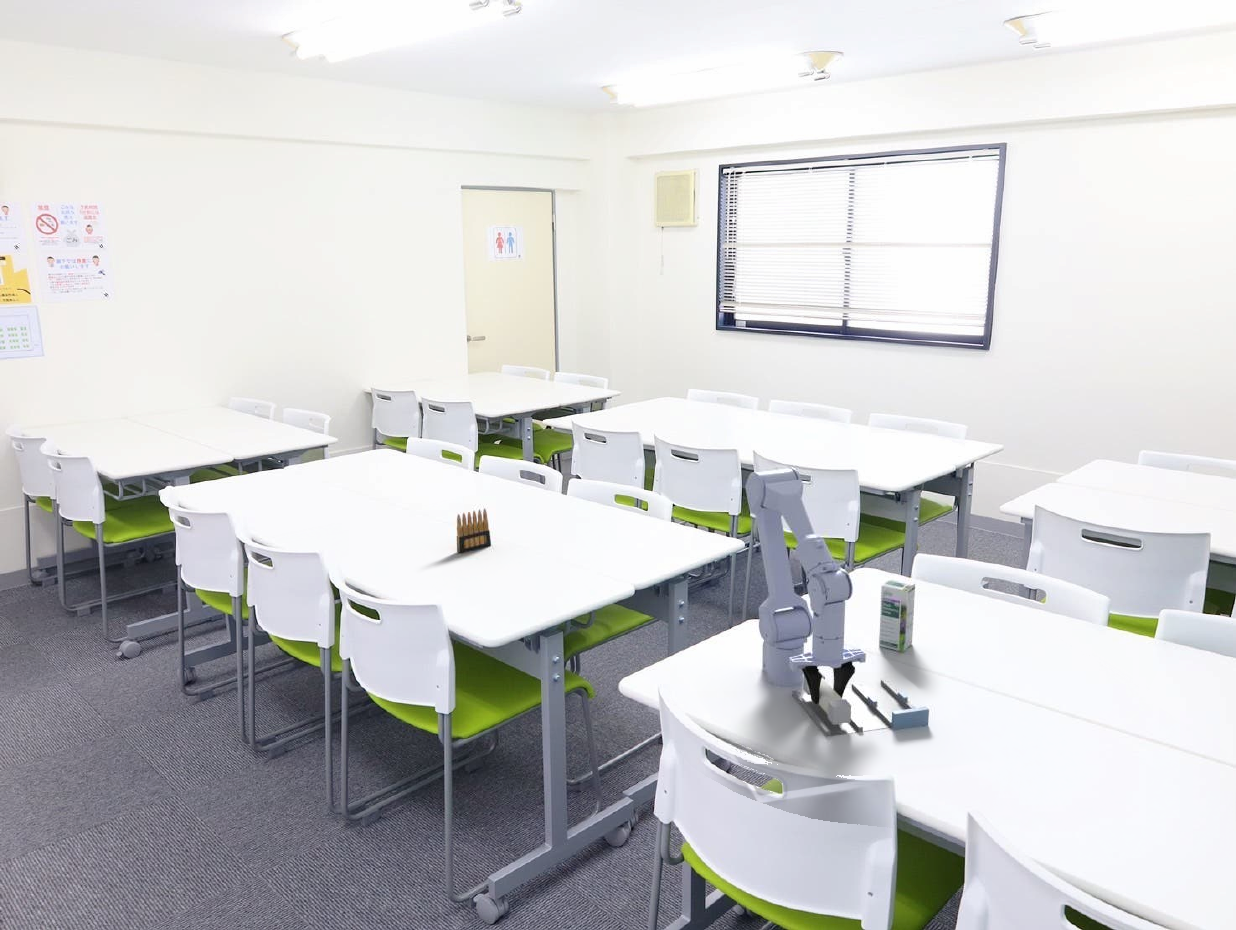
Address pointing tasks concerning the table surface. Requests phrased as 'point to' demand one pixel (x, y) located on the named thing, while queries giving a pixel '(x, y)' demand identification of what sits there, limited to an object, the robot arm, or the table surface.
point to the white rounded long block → (831, 702)
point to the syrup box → (896, 614)
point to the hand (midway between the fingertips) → (826, 699)
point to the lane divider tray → (868, 710)
